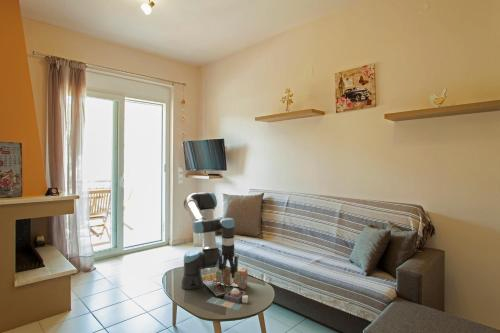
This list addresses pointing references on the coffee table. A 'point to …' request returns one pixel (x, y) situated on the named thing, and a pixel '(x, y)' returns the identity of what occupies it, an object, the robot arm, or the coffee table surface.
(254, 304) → the coffee table surface
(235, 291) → the dome
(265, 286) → the coffee table surface
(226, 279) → the walnut block
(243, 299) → the ivory die
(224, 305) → the track mat
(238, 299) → the dome housing
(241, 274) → the stack of blocks
